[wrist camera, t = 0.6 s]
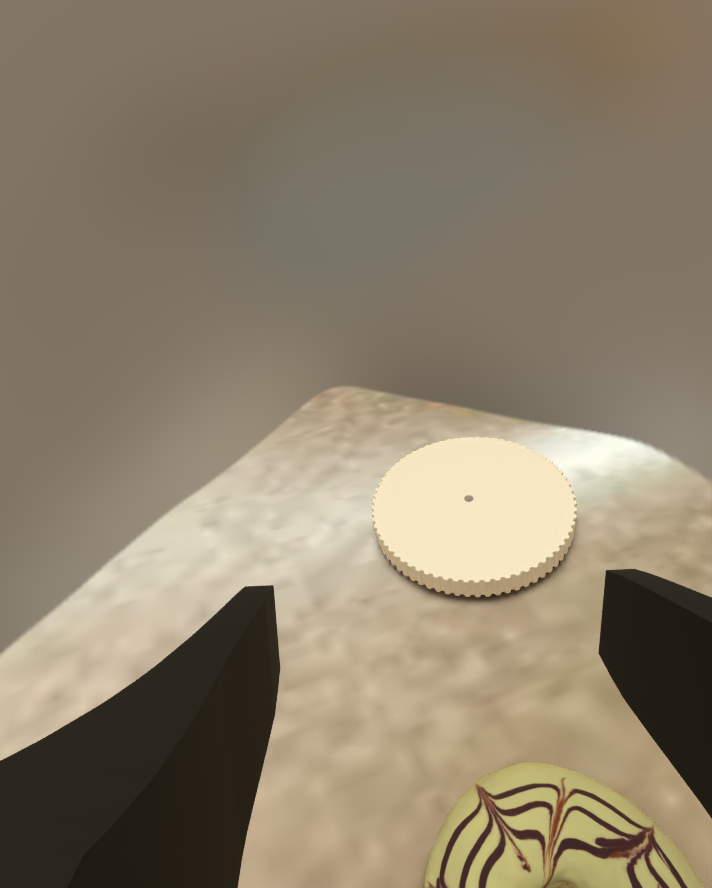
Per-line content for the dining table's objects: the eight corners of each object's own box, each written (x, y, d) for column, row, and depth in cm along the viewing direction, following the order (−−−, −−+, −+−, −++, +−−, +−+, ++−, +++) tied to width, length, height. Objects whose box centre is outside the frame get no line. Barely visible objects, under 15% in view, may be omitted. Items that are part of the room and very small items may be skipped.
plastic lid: (342, 522, 39) (335, 499, 37) (470, 438, 44) (468, 415, 42) (470, 649, 29) (468, 626, 27) (618, 522, 34) (623, 496, 32)
